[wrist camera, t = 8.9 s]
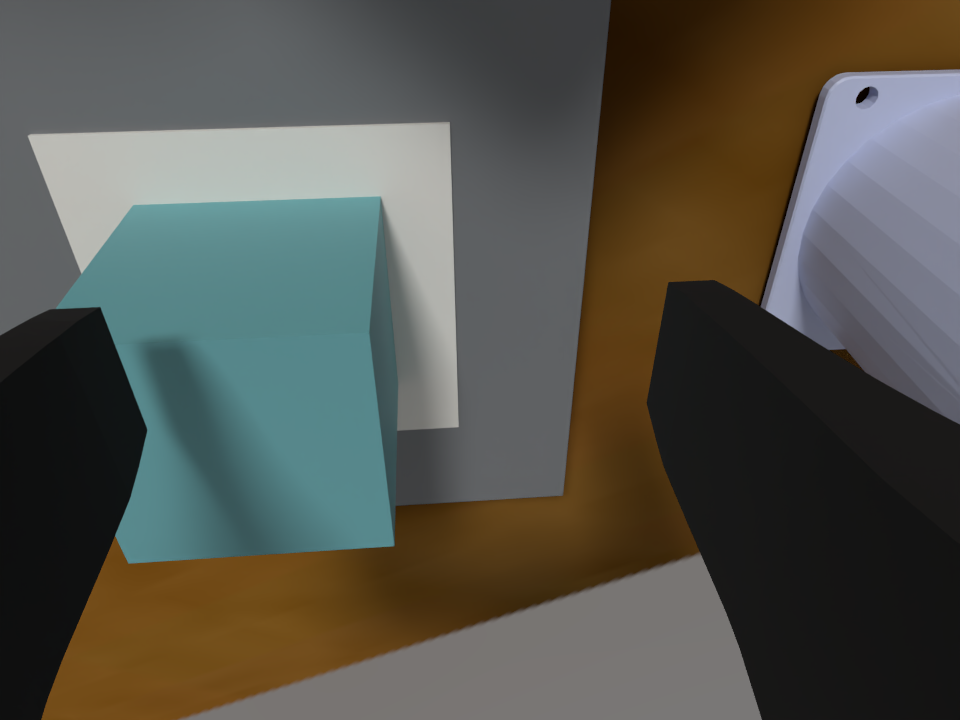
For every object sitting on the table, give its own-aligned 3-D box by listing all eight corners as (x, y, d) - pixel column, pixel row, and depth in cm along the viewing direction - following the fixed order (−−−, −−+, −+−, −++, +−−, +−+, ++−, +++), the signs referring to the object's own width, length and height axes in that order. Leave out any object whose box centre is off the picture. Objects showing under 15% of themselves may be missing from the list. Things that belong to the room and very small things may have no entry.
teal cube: (380, 196, 15) (369, 332, 11) (398, 384, 18) (394, 545, 14) (132, 204, 14) (25, 348, 10) (194, 395, 17) (128, 563, 13)
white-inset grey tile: (583, -74, 15) (617, -56, 12) (546, 426, 23) (563, 497, 21) (-122, -65, 14) (-238, -43, 11) (107, 451, 22) (68, 528, 20)
